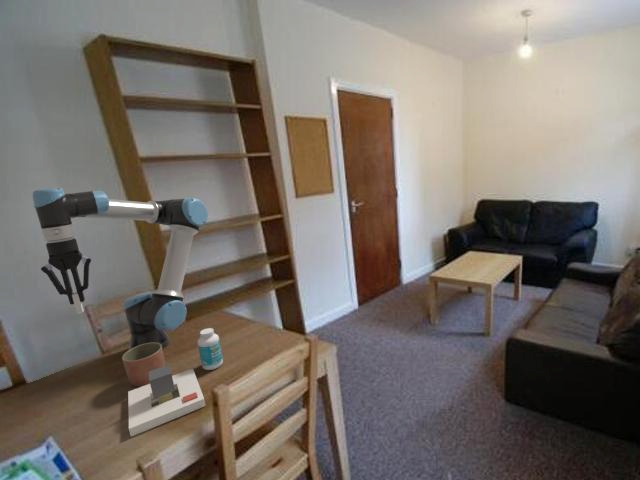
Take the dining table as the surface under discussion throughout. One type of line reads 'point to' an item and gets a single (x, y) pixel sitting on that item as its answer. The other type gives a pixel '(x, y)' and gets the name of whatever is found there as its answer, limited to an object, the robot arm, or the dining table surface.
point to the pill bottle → (210, 349)
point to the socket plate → (152, 414)
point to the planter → (143, 362)
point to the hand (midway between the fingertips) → (80, 312)
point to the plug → (162, 384)
